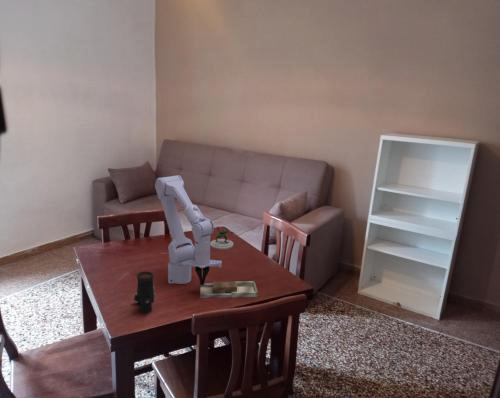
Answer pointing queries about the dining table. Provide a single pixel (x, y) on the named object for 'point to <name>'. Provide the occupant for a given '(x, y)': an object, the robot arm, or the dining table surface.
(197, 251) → the robot arm
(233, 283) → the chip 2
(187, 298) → the dining table surface
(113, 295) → the dining table surface
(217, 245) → the monster figurine
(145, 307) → the scope
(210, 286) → the slot board
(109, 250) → the dining table surface
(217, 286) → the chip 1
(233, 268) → the dining table surface
